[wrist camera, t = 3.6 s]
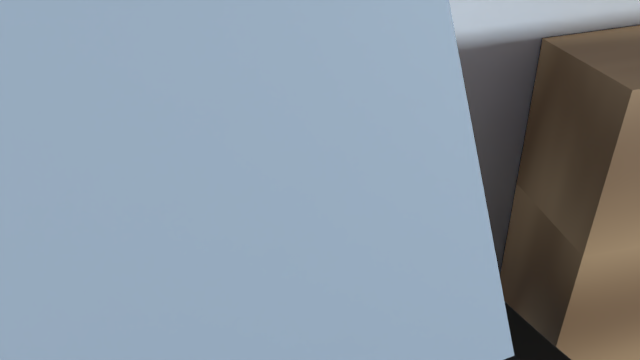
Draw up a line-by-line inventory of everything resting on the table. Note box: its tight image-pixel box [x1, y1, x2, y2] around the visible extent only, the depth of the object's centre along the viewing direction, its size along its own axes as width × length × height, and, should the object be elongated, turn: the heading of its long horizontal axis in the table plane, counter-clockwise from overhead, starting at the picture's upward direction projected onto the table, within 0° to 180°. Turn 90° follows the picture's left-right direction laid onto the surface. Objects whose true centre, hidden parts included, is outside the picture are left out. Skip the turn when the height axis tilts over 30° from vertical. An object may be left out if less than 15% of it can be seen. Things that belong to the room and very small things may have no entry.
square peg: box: [0, 0, 514, 360], centre depth 5 cm, size 4×4×7 cm
